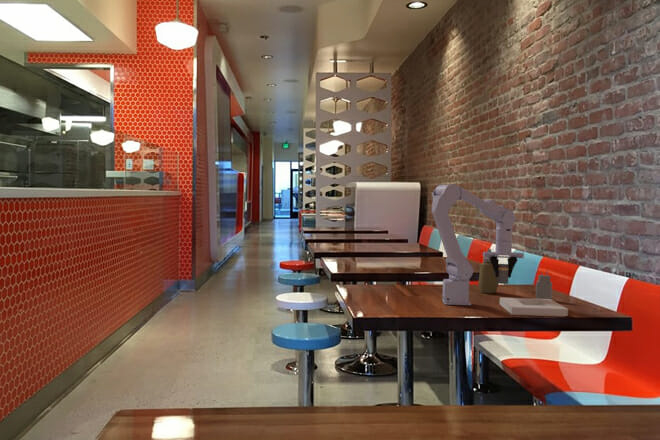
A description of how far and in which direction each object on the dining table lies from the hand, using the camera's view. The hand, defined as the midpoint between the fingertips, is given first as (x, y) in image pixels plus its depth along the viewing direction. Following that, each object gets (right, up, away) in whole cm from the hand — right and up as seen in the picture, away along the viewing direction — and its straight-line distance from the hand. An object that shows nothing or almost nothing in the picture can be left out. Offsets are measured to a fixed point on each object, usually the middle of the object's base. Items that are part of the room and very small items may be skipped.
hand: (502, 277), depth 201 cm
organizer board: (+6, -10, -14) cm, 18 cm away
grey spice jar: (0, -2, 0) cm, 2 cm away
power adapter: (+17, -10, +5) cm, 20 cm away
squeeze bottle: (+1, -9, +20) cm, 22 cm away
